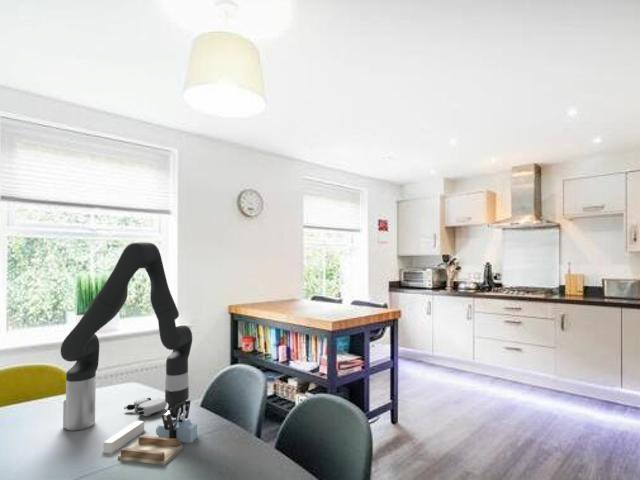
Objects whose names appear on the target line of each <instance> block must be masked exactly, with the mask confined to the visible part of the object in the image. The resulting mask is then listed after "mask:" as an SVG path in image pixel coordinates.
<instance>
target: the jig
mask: <svg viewBox="0 0 640 480" xmlns="http://www.w3.org/2000/svg"><path fill="white" fill-rule="evenodd" d="M180 443H181V442H180V439H173V438H163V437H158V436H153V435H152V436H151V435H143V434H142V435H141V434H140V435H138V441H136V442H134V443H133V445H131V446H129V447H122V448H121V449H120V454H118V455H117V460H120V461H128V462H135V463H136V462H137V463H144V464H145V463H146V464H154V465H159V466H160V465H161V466H166V465H167V463H169V462H170V461H171V460H172V459H174V457H175V456H176V455H178V454H179V453H181V451H182V450H183V447H184V446H183V445H181V444H180Z"/></svg>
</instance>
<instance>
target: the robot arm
mask: <svg viewBox="0 0 640 480" xmlns="http://www.w3.org/2000/svg"><path fill="white" fill-rule="evenodd" d="M163 263H164V262H163V260H162V255H161V253H160V250H159V247H158V246H157V245H155V244H154V243H152V242H147V241H145V242H144V241H134V242H131V243H129V244H128V245H127V246H125V248H124V249H123V251H122V252H121V254H120V256H119V259H118V261H117V263H116V264H115V266H114V269H113V271H112V272H111V274H110V275H109V277H107V280H106V281H105V283H104V285H102V287H101V289H100V290H99V291H98V293H97V294H96V295H95V297H94V299H93V301H92V303H91V304H90V305H89V307H88V308H87V310H86V311H85V313H84V314H83V315H82V317H81V319H80V320H79V322H78V323H77V324H76V325H75V326H74V328H72V329H71V331H70V332H69V333H68V335H67V336H66V337H65V338H64V339H63V341H62V343H61V347H60V355H61V358H62V359H63V360H64V361H65V362H66V361H67V362H75V363H74V365H73V366H72V367H71V368H69V369H68V370H67V372H66V374H65V375H66V376H65V381H66V382H65V399H64V401H63V403H62V404H63V406H62V407H63V410H62V411H63V412H62V413H63V414H62V428H64V429H65V430H66V431H72V432H73V431H79V430H80V431H81V430H85V429H88V428H90V427H92V426H94V424H96V390H97V389H96V377H97V376H96V375H97V373H96V372H97V370H98V368H99V359H100V358H99V357H100V341H99V340H100V339H99V338H98V336H97V334H96V333H97V332H98V331H100V330H101V329H102V328H103V327H104V326H106V325H107V324H108V323H109V322H110V321H113V320H112V319H114V318H115V317H116V316H117V315H118V314H119V312H120V311H121V309H122V308H123V307H124V305H125V304H126V302H127V299H128V293H129V292H128V291H129V283H130V281H131V279H132V278H133V277H134V275H135V274H136V273H137V272H138V270H139V269H144V270H145V271H146V273H147V275H148V277H149V281H150V303H151V307H152V309H153V313H154V314H155V317H156V319H157V322H158V330H159V331H158V332H159V337H160V341H161V343H162V345H163V346H164V347H165V348H166V349H167V350H170V351H172V352H171V354H170V355H168V356H167V358H166V360H165V361H166V362H165V382H164V385H165V387H164V399H165V401H166V402H167V412H166V413H162V415H161V419H162V423H163V424H164V428H165V430H169V438H173V439H176V427H177V422H185V421H186V420H188V419H189V414H190V406H191V400H190V399H189V397H190V396H189V395H190V394H189V393H190V392H189V391H190V389H189V387H190V384H189V383H190V381H189V380H190V379H189V378H190V377H189V356H190V354H191V348H192V344H193V332H192V330H191V328H190V327H189V326H187V325H182V324H181V325H179V326H177V325H176V320H177V319H178V318H179V314H180V313H179V311H178V308H177V305H176V303H175V301H174V298H173V295H172V294H171V290H170V287H169V284H168V281H167V276H166V271H165V268H164V265H163ZM172 418H175V419H172ZM172 422H174V426H173V423H172Z"/></svg>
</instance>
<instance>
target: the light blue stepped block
mask: <svg viewBox="0 0 640 480" xmlns="http://www.w3.org/2000/svg"><path fill="white" fill-rule="evenodd" d="M172 419H176V418H172ZM172 423H173V426H174V422H172ZM155 434H156V436H157V437H163V438H169V430H165V428H164V424H163V422H162V423H160V424H158V425H157V426H156V428H155ZM197 438H198V423H192V422H191V419H189V418H187V419H185V422H177V427H176V439H180V443H187V444H188V443H190V444H191V443H193V442H194V441H195V440H196V439H197Z"/></svg>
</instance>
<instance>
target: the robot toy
mask: <svg viewBox="0 0 640 480" xmlns="http://www.w3.org/2000/svg"><path fill="white" fill-rule="evenodd" d="M167 407H168V403H167V402H166V401H165V398H161V397H160V398H154V399H153V398H152V399H151V397H147V398H146V397H142V398H140V399H136V400H134V401H133V404H127V405H126V406H124V407H123V410H127V411H133V410H135V411H136V412H137V414H139V415H142V416H144V417H149V416H151V415H152V414H155V413H159V412H161V411H163V410H164V409H165V408H167Z"/></svg>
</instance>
